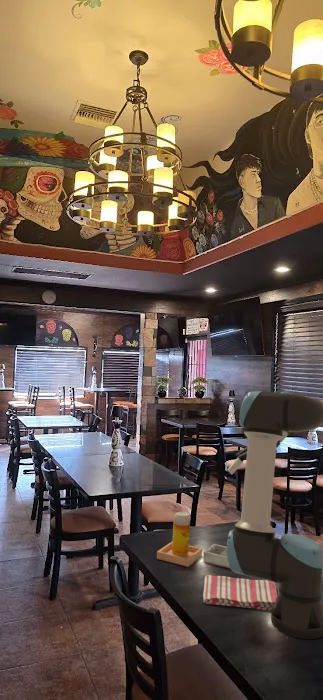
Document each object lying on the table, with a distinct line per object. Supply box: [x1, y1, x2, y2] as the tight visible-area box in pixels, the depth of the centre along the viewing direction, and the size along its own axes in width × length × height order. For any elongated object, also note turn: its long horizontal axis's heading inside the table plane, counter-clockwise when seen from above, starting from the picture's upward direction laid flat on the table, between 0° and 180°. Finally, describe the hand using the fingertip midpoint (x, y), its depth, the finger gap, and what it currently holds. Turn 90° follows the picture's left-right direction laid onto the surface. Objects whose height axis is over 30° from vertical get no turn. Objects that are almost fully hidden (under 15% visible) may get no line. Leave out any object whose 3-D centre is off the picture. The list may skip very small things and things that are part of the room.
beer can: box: [171, 511, 191, 557], centre depth 178 cm, size 6×6×15 cm
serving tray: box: [156, 541, 203, 568], centre depth 178 cm, size 13×13×2 cm
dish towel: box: [202, 574, 278, 612], centre depth 151 cm, size 17×23×4 cm
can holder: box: [202, 543, 230, 569], centre depth 177 cm, size 10×10×4 cm
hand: (238, 476), depth 184 cm, fingers open, 13 cm apart
